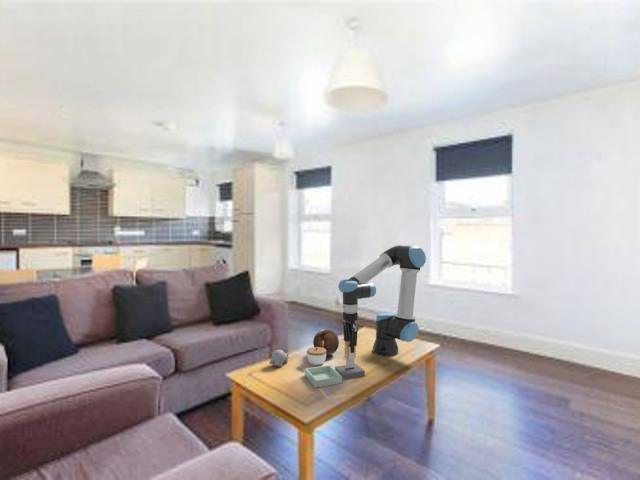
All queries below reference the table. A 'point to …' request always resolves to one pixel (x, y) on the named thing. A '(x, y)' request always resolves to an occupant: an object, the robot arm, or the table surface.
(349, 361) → the fuse
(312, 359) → the lidded jar
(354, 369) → the socket block
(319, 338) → the wooden sphere
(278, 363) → the toy rhinoceros
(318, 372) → the parts tray
